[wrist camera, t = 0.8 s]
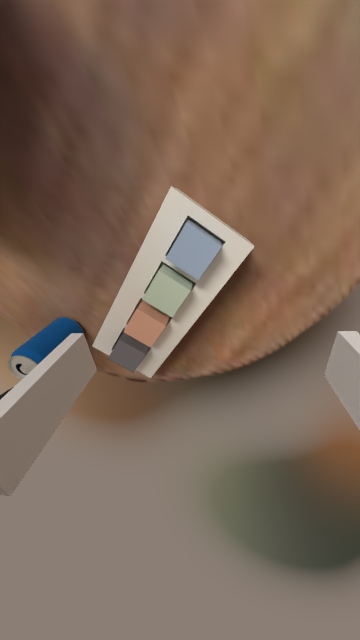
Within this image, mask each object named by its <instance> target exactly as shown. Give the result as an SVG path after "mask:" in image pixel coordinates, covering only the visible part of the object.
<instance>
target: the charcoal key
mask: <svg viewBox="0 0 360 640" xmlns="http://www.w3.org/2000/svg"><path fill="white" fill-rule="evenodd" d="M148 349H149V346H147V345H145V344H143V343H142V342H140V341H138V340H136V339H135V338H133V337H131V336H129V335H128V334H126V333H123V334H122V336H121V337H120V339H119V340H118V342H117V344H116V345H115V347H114V349H113V351H112V352H111V354H110V356H109V358H108V359H109V360H111V361H113V362H115V363H117V364H118V365H120V366H122V367H124V368H126V369H128V370H130V371H131V372H134V371H135V370H136V368H137V367H138V365H139V364H140V362H141V361H142V360H143V358H144V357H145V355H146V353H147V351H148Z"/></svg>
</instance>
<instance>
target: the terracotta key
mask: <svg viewBox="0 0 360 640" xmlns="http://www.w3.org/2000/svg"><path fill="white" fill-rule="evenodd" d="M169 317H170V316H169V315H167V314H165V313H164V312H162V311H160V310H159V309H157V308H155V307H154V306H152V305H150V304H149V303H147V302H145V301H144V300H143V301H142V302H141V303H140V305H139V306H138V308H137V309H136V311H135V312H134V314H133V316H132V318H131V319H130V321H129V323H128V325H127V326H126V328H125V330H124V333H126V334H128V335H129V336H131V337H133V338H135V339H136V340H138V341H140V342H142V343H143V344H145V345H147V346H149V347H150V348H151V347H152V345H153V344H154V343H155V341H156V340H157V338H158V337H159V335H160V334H161V333H162V331H163V330H164V328H165V327H166V325H167V322H168V320H169Z"/></svg>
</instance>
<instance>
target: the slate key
mask: <svg viewBox="0 0 360 640" xmlns="http://www.w3.org/2000/svg"><path fill="white" fill-rule="evenodd" d="M221 248H222V244H221V242H220V241H219V240H217V239H216V238H214V237H213V236H211V235H210V234H209V233H207V232H206V231H204V230H203V229H201V228H200V227H199V226H197V225H196V224H194V223H193V222H192V221H190V220H189V221H187V222H186V224H185V226H184V227H183V229H182V231H181V233H180V234H179V236H178V238H177V240H176V241H175V243H174V245H173V247H172V248H171V250H170V252H169V253H168V255H167V257H166V260H168V261H169V262H171V263H172V264H174V265H175V266H177V267H179V268H180V269H182V270H183V271H185V272H186V273H188V274H189V275H191V276H192V277H194V278H195V279H197V280H199V279H200V277H201V276H202V275H203V273H204V272H205V270H206V269H207V267H208V266H209V265H210V263H211V262H212V260H213V259H214V258H215V256H216V255H217V253H218V252H219V250H220V249H221Z"/></svg>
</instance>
